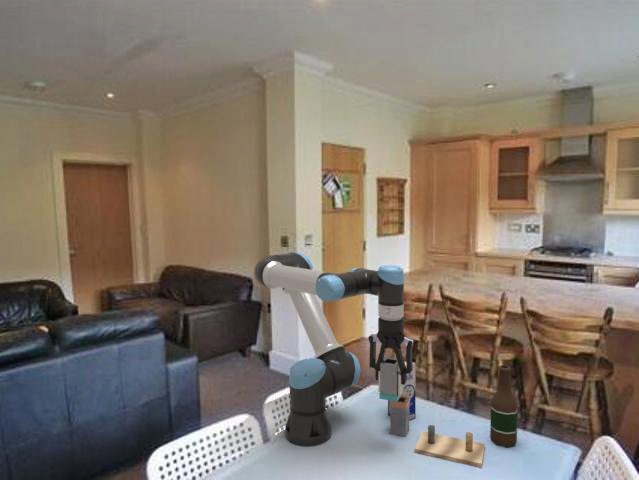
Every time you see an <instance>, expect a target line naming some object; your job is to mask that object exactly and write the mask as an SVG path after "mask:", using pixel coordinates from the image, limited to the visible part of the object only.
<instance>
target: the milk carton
mask: <svg viewBox="0 0 639 480" xmlns="http://www.w3.org/2000/svg"><path fill="white" fill-rule="evenodd" d="M404 362H405V366H406V368H407V364H406V361H404ZM412 363H413V370H412V371H411V373H410V374H406V383H405V385H403V393H402V395H401V396H406V397H410V403H409V421H411V420H414V419H416V369H417V368H416V364H417V363H416V362H413V361H412ZM389 401H390V400H387V415H388V416H389V417H390V405H389Z"/></svg>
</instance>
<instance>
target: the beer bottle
mask: <svg viewBox="0 0 639 480" xmlns="http://www.w3.org/2000/svg"><path fill="white" fill-rule="evenodd" d="M498 371H499V372H498V380H497V381H498V382H497V390H496V391H495V393H494V394H493V396H492V398H491V402H490V428H489V429H490V441H491V442H492V443H493V444H495V446H499V447H502V448H507V449H509V448H513V447H515V446H516V444H517V440H518V413H519V412H518V402H517V398H516V397H515V394H514V393H513V390H512V381H511V380H512V377H511V372H512V368H511V367H510V366H509V365H506V364H503V365H499V366H498Z"/></svg>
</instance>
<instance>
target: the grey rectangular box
mask: <svg viewBox="0 0 639 480" xmlns="http://www.w3.org/2000/svg"><path fill="white" fill-rule="evenodd" d="M399 373H400V368H399V365H398V361H397V358H391V357H384V359H383V360H382V362H381V363H380V392H378V394H379V398H378V399H380V400H386V401H388V400H390V401H395V402H397V401H398V399H399V398H400V396H398V374H399Z"/></svg>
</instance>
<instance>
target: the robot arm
mask: <svg viewBox="0 0 639 480" xmlns="http://www.w3.org/2000/svg"><path fill="white" fill-rule="evenodd" d="M253 276H254V279H255V281H256V282H257V284H259V286H262V287H263V288H267V289H273V290H274V289H277V288H282V291H283V293H284V294H287V295H289V297H290V299H291V301H292V304H293V306H294V308H295V310H296V312H297V315H298V318H299V319H300V321H301V324H302V325H303V328H304V330H305V333H306V335H307V337H308V340H309V343H310V344H311V346H312V349H313V352H314V354H315V356H314V357H313V358H312V357H310V358H309V359H308V358H303V359H301V360H299V361H296V362H294V363H293V365H292V366H291V367H290V369H289V378H288V384H289V414H288V417H287V421H286V424H285V427H284V428H285V429H284V431H285V433H284V434H285V435H284V436H285V438H286V440H287V441H288V442H290V443H291V444H294V445H298V446H301V447H313V446H316V445H321V444H323V443H325V442H327V441H328V440H329V439H330V438H331V436H332V424H331V421H330V418H329V416H328V412H327V407H326V406H327V403H326V402H327V401H326V400H327V398H329V397H331V396H334V395H336V394H339V393H341V392H344V391H347V390H349V389H350V388H352V387H354V386H355V385H357V383H358V382H359V380H360V377H361V376H360V375H361V365H360V361H359V359H358V358H357V356H356V354H353V353H352V352H350V351H347V350H346V348H345V346H344V344H341V343H339V342H338V341H337V340H336V337H335V335H334V333H333V331H332V329H331V326H330V324H329V322H328V320H327V318H326V316H325V314H324V311H323V309H322V307H321V305H320V302H319V301H318V299H317V297H318V298H319V299H320V300H321V301H323V302H326V303H328V302H336V301H339V300H344V299H347V298H352V297H356V296H360V295H366V294H367V295H372V296H376V297H377V301H378V305H377V308H378V309H377V310H378V311H377V312H378V318H377V320H378V321H377V325H378V326H377V328H378V329H377V330H378V331H377V333H376V334H374V333H372V334H370V335H369V336H368V342H369V363H368V365H369V368H370V369H372V368H373V370H375V372H374V373H375V376H374V377H375V380H376V381H378V390H377V391H378V393H380V363H381V362H382V360H383V359H384V358H385V354H386V351H387V349H391V350H393V352H394V354H395V356H396V359H397V361H398V365H399V368H400V373H399V374H398V396H401V395H402V393H403V385H405V383H406V374H410V373H411V371H412V370H413V363H414V362H413V345H414V342H415V340H414V339H413V338H408V337H406V335H405V333H404V327H405V326H404V325H405V322H404V321H405V319H404V316H405V314H404V313H405V312H404V311H405V309H404V308H405V304H404V303H405V302H404V292H405V290H404V289H405V274H404V268H403V267H401V266H400V265H394V264H393V265H392V264H387V265H380V266H379V267H378V269H377V270H373V269H367V268H364V267H353V268H351V269H350V270H349V271H345V272H341V273H335V272H334V273H333V272H332V273H331V272H328V271H321V270H315V269H314V267H313V264H312V261H311V259H310V258H309V257H308V256H307V255H306V254H305V253H302V252H288V253H281V254H280V253H279V254H270V255H266V256H264V257H261V258H260V259H259V260H258V261H257V262H256V264H255V266H254V268H253ZM377 341H379V343H381V346H380V348H379V354H378V355H377ZM403 343H404V346H405V347H406V348H405V354H406V357H405V358H406V361H405V359H404V356H403V355H404V354H403V351H402V344H403ZM376 358H377V359H376ZM405 362H406V364H407V368H406V366H405ZM412 362H413V363H412Z"/></svg>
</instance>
